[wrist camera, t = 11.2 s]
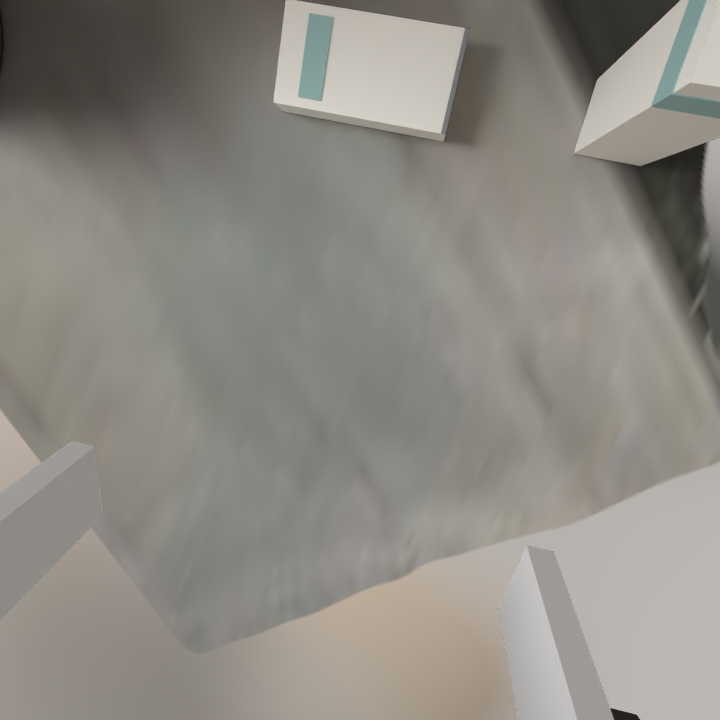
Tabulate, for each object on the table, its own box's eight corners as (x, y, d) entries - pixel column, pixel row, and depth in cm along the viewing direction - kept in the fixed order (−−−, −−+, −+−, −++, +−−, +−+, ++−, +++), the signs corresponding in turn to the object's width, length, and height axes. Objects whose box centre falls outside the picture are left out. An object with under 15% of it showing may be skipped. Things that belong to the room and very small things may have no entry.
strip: (282, 111, 30) (272, 101, 28) (295, 15, 29) (285, -3, 27) (443, 141, 29) (445, 133, 27) (466, 44, 28) (470, 27, 26)
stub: (572, 154, 28) (688, 83, 16) (596, 78, 27) (743, -63, 15) (641, 167, 28) (814, 104, 16) (669, 90, 27) (882, -44, 14)
